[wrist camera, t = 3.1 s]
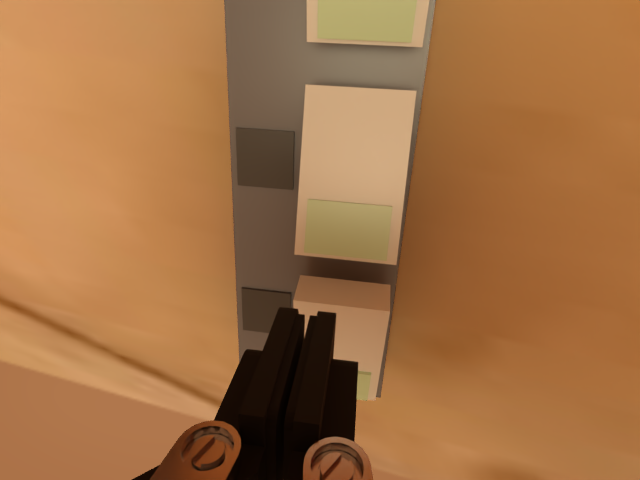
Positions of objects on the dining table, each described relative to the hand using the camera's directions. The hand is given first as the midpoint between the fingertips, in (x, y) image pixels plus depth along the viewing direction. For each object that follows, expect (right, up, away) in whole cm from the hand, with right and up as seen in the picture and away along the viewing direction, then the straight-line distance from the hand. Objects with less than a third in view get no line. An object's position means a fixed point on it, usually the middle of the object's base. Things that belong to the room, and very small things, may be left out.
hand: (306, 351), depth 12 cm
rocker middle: (+2, +6, +8) cm, 11 cm away
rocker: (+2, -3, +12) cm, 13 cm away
